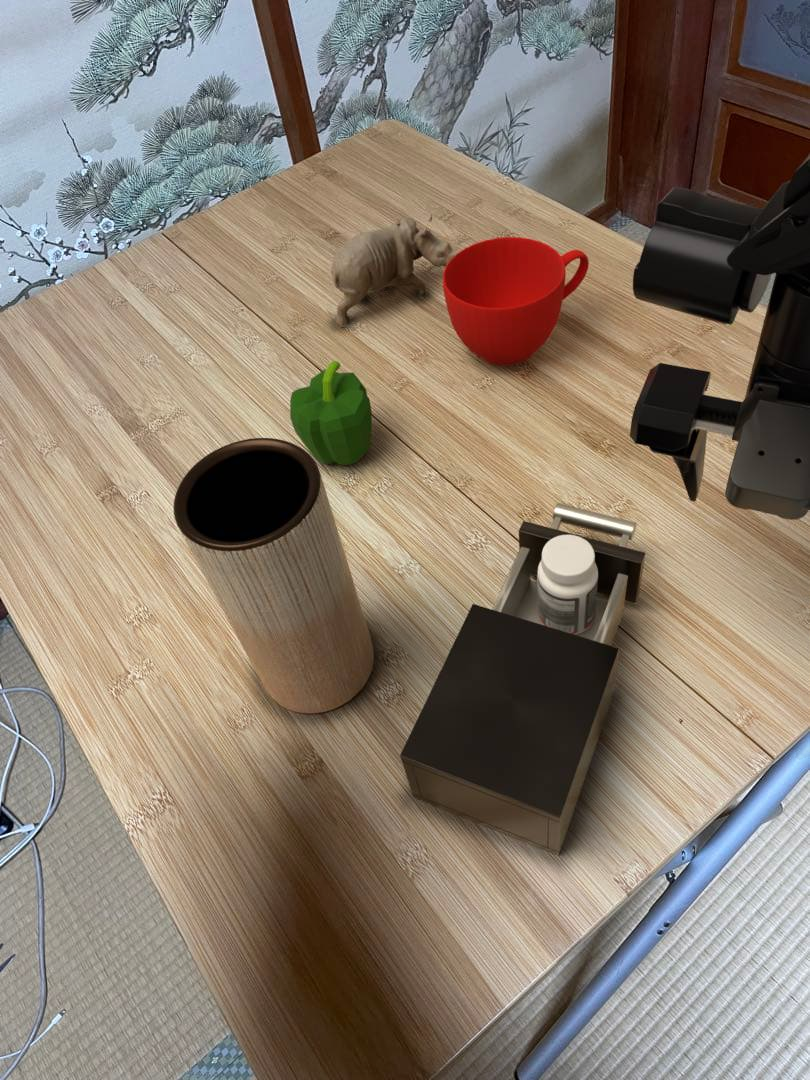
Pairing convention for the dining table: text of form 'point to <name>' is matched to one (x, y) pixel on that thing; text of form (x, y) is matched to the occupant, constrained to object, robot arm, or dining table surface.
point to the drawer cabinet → (512, 726)
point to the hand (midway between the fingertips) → (759, 512)
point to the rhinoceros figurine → (384, 262)
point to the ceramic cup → (508, 296)
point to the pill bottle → (567, 584)
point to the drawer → (612, 561)
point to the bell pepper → (333, 416)
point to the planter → (278, 570)
